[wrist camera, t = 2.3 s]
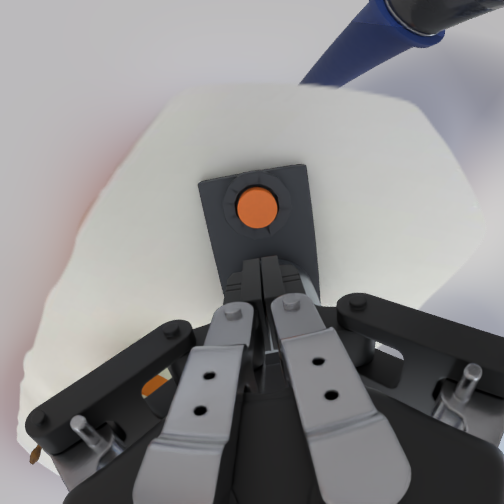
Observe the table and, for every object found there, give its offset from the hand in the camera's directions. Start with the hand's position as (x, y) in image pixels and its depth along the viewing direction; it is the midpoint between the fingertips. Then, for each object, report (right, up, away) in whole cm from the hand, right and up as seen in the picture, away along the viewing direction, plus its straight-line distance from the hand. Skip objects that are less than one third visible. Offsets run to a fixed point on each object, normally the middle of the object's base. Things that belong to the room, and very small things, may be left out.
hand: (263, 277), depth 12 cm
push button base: (+1, +2, +20) cm, 20 cm away
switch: (0, +6, +14) cm, 15 cm away
